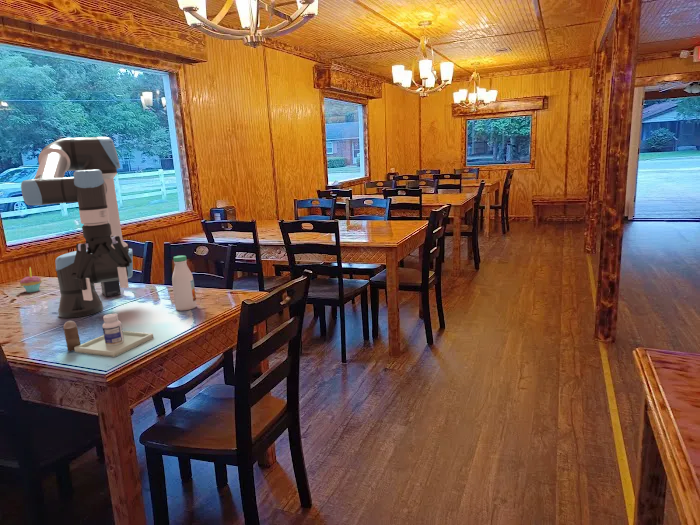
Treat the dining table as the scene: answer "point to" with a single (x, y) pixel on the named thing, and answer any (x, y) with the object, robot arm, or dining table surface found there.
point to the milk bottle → (183, 285)
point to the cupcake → (31, 283)
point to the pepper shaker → (71, 335)
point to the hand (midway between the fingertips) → (107, 293)
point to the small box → (110, 288)
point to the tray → (100, 348)
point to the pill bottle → (112, 330)
